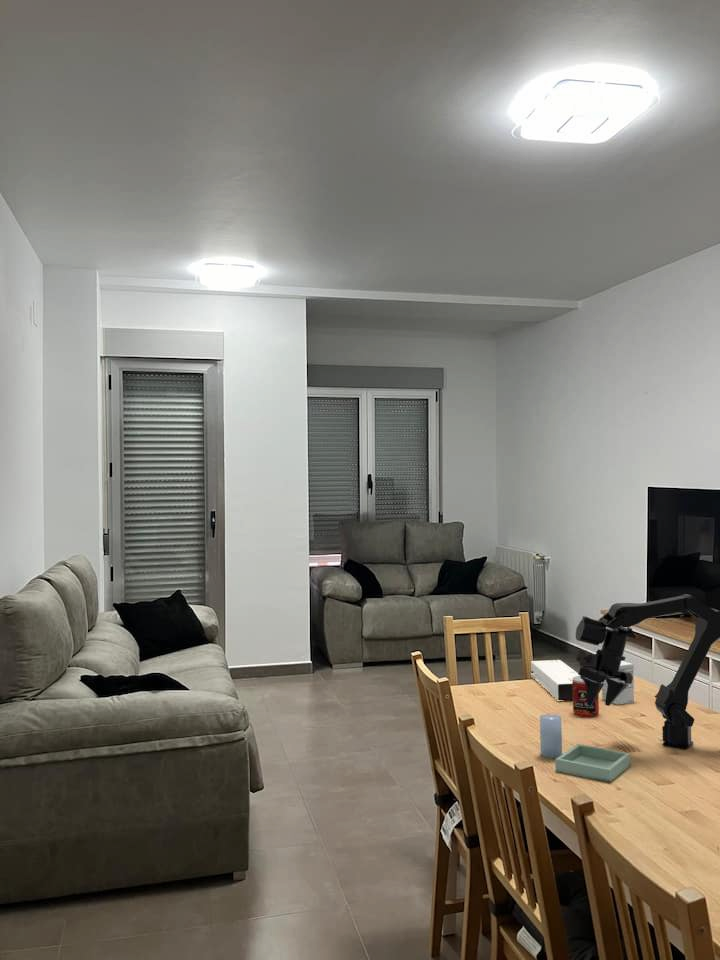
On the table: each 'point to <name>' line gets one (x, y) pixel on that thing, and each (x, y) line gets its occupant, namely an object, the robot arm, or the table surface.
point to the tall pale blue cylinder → (551, 735)
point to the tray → (593, 762)
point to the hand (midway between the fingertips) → (598, 705)
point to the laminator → (554, 677)
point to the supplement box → (628, 692)
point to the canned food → (583, 700)
